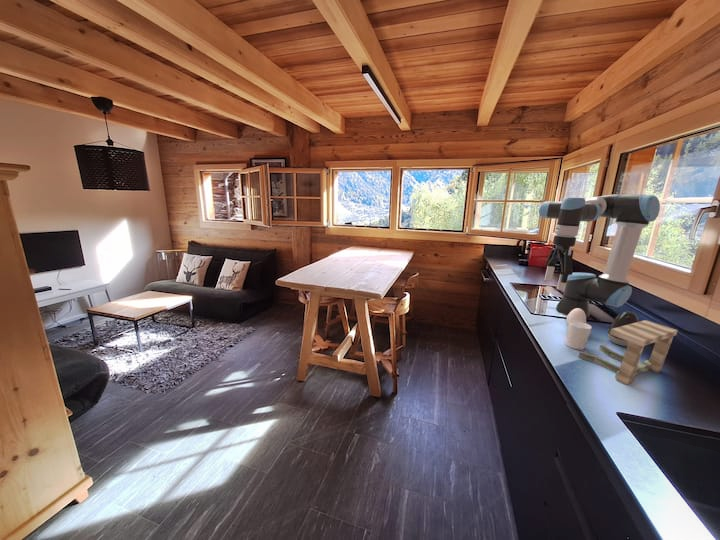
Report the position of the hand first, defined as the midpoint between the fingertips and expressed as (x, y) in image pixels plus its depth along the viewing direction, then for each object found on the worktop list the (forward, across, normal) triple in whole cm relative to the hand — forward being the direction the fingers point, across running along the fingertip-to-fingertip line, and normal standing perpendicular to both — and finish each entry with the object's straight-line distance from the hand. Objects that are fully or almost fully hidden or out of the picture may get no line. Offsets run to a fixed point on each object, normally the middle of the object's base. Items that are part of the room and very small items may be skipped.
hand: (553, 284), depth 122 cm
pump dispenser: (+25, -5, +33) cm, 42 cm away
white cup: (+25, +4, +11) cm, 28 cm away
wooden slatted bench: (+25, +16, +20) cm, 36 cm away
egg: (+25, -12, +18) cm, 33 cm away
